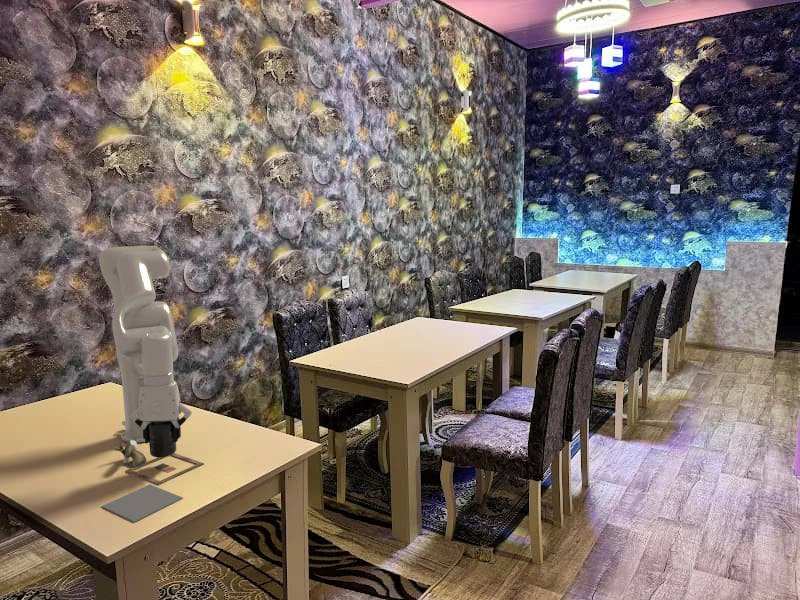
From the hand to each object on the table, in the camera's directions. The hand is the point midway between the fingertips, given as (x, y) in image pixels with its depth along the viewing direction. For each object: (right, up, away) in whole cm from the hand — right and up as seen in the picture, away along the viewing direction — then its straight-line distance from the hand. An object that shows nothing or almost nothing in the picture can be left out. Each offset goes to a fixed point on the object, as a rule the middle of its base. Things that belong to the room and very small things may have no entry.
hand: (162, 440), depth 159 cm
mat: (+3, -11, -18) cm, 21 cm away
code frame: (+1, -8, 0) cm, 8 cm away
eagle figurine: (-10, -7, +4) cm, 13 cm away
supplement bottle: (0, -4, +1) cm, 4 cm away
